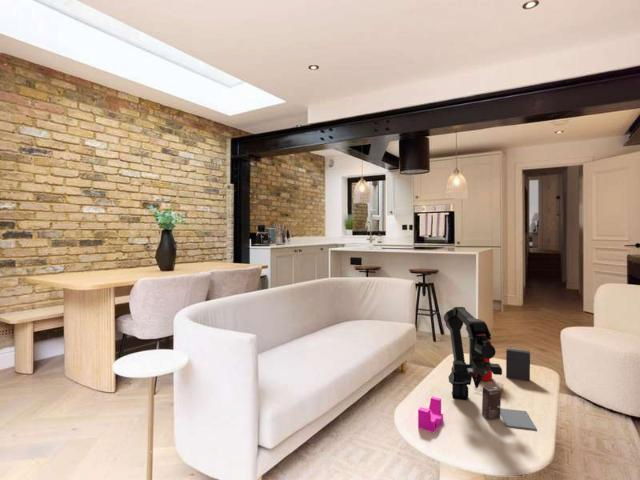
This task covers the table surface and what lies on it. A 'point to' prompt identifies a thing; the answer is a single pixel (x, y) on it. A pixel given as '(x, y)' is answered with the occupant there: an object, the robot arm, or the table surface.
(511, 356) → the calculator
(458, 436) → the table surface
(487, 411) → the box
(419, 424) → the toy block
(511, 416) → the mat
